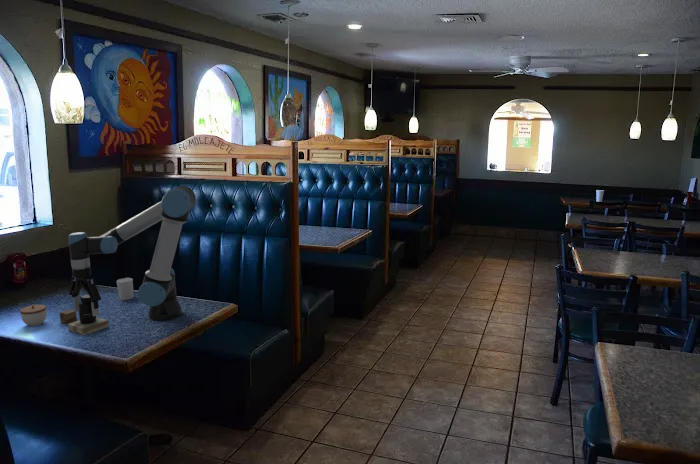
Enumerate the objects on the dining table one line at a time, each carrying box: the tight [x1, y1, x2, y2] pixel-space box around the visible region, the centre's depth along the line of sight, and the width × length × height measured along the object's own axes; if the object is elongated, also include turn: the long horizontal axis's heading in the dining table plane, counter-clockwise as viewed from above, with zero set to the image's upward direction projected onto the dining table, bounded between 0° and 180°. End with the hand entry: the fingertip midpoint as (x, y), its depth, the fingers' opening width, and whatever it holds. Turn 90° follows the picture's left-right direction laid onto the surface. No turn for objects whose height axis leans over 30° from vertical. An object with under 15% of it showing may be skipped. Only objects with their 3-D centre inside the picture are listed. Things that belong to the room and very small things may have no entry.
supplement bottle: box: [78, 294, 97, 324], centre depth 252 cm, size 7×7×12 cm
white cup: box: [116, 277, 134, 301], centre depth 295 cm, size 8×8×10 cm
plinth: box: [67, 316, 110, 336], centre depth 253 cm, size 12×12×3 cm
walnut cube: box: [59, 308, 78, 325], centre depth 263 cm, size 5×5×5 cm
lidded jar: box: [19, 304, 48, 327], centre depth 260 cm, size 11×11×9 cm
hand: (86, 312), depth 252 cm, fingers open, 13 cm apart
